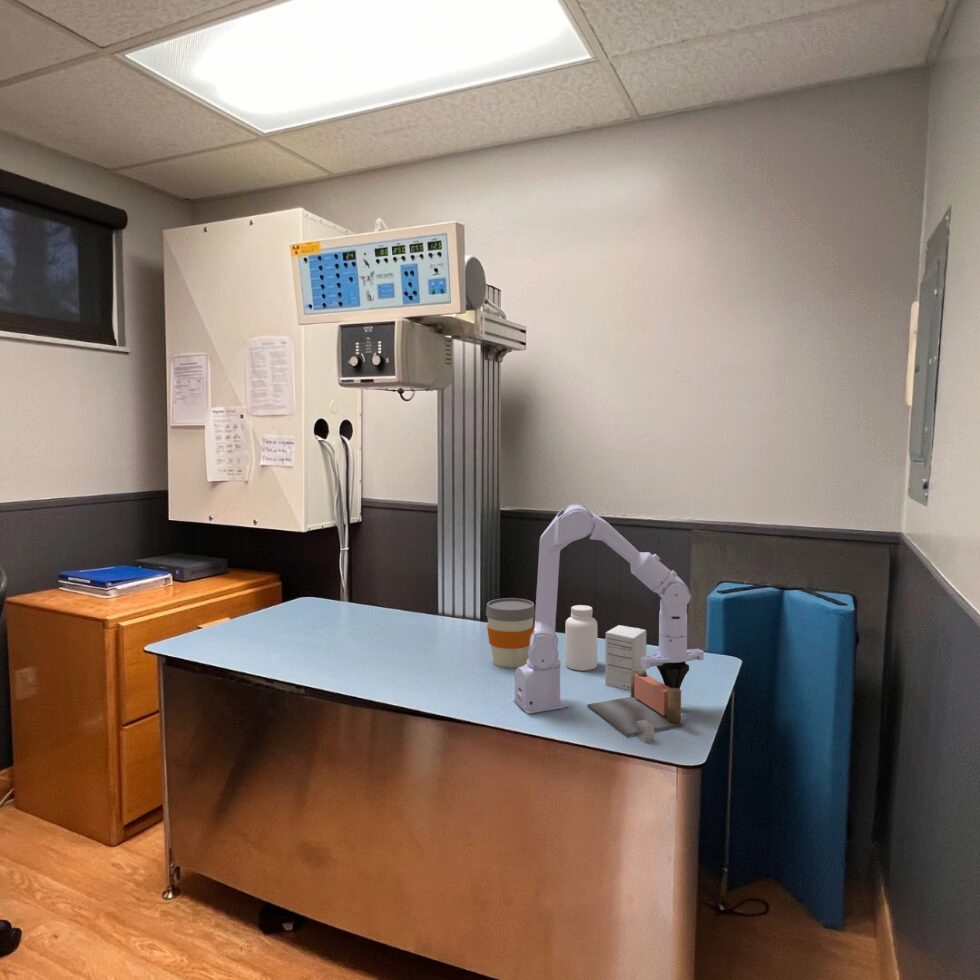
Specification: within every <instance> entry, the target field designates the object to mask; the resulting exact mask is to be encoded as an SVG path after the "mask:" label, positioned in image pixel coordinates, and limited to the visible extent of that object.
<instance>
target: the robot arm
mask: <svg viewBox="0 0 980 980" xmlns="http://www.w3.org/2000/svg"><path fill="white" fill-rule="evenodd" d="M587 536H588V537H589V540H594V541H601V542H603V543H605V544H606V546H608V547H610V548H611V549H612V550H613V551H614V552H616V553H617V554H618V555H619V556H621V557H622V558H623V559H624V560H625V561H627V562H628V563H629V564H630V573H631V574H632V575H633V576H634V577H635V578H637V579H638V580H639V581H640V582H642V584H644V585H645V586H646V587H647V588H649V590H650V591H652V592H653V593H657V595H658V596H659V598H661V599H660V604H659V612H658V613H659V615H658V617H659V618H658V651H656V652H654V653H651V654H649V655H646V656H645V657H641V666H642V667H644V668H645V669H646V670H648V669H649V670H650V669H651V668H652V667H656V668H657V670H658V671H659V673H660V676H661V678H662V681H663V684H664V685H666V686H668V687H669V688H677V689H680V690H681V687H682V686H681V685H682V683H683V681H684V678H685V677H686V675H687V673H688V672H689V671H690V665H689V664H687V663H686V662H690V661H696V660H698V661H703V660H704V658H705V655H704V653H705V652H704V650H702V649H699V648H692V649H690V648H689V649H687V648H688V646H687V645H688V613H687V612H688V604H689V602H691V597H692V595H691V594H690V589H689V587H688V586H687V585H686V583H685V582H684V581H683V579H681V578H680V576H678V575H677V572H676V571H675V570H674V569H672V570H670V569H669V568H668V567H667V566H666V565H664V564H663V563H662V562H661V561H660V560H661V558H660V557H659V555H657V553H654V554H652V553H651V552H648V551H646V552H643V551H642V552H641V551H639V550H638V549H637V548H636V547H635V546H634V545H632V544H631V543H630V542H629V541H628V540H627V539H626V538H625V537H624V536H623V535H622V534H620V532H618V530H616V528H614V527H613V526H612V525H611V524H610V523H609V522H607V520H605V519H604V518H602V517H601V516H599V514H598V515H597V514H596V513H595V512H593V511H591V513H590V510H589V509H588V507H586V506H584V505H583V504H581V503H571V504H569V505H567V506H566V507H564V508H562V509H561V510H560V511H558V512H557V514H556V516H555V517H554V519H552V520H551V522H550V524H549V525H548V526H547V528H546V529H545V530H544V531H543V533H542V534H541V535H540V537H539V538H540V539H539V545H538V547H539V549H538V564H537V565H538V566H537V580H536V582H537V583H536V594H535V595H536V597H535V616H534V631H533V633H532V634H531V637H530V647H529V651H528V657H529V658H528V659H527V664H525V665H523V666H519V667H516V669H515V670H514V671H515V672H514V698H513V702H514V703H516V705H518V706H519V707H520V708H521V709H522V710H523V711H524V712H525V713H527V714H528V715H530V714H535V713H542V712H547V711H554V710H559V709H565V708H568V706H569V705H568V703H566V702H565V701H564V700H562V699H561V660H560V659H559V650H558V646H559V638H558V636H557V634H556V620H557V619H556V618H557V605H558V591H559V590H558V587H559V575H560V574H559V573H560V572H559V571H560V557H561V551H562V550H563V549H564V548H565V547H567V546H568V545H569V544H571V543H572V542H575V541H578V540H581V539H583V538H586V537H587Z"/></svg>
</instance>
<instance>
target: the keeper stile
mask: <svg viewBox="0 0 980 980" xmlns="http://www.w3.org/2000/svg"><path fill="white" fill-rule="evenodd" d="M636 737H637V738H639V740H641V741H642V742H644V743H645V744H647V743H650V742H655V732H654V725H653V724H651V723H650V722H648V721H647V720H641V721H637V735H636Z"/></svg>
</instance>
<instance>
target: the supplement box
mask: <svg viewBox="0 0 980 980" xmlns="http://www.w3.org/2000/svg"><path fill="white" fill-rule="evenodd" d="M604 650H605V651H604V653H605V658H604V660H605V663H604V664H605V667H604V669H605V671H604V672H605V685H607V686H611V687H614V688H618V689H623V690H627V691H631V671H646V672H647V669H645V668H644V667H642V666H641V657H645V656H647V630H646V629H643V628H639V627H631V626H626V625H620V624H618V625H617V626H615V627H612V628H611V629H610V630H607V631H606V632H605V649H604Z"/></svg>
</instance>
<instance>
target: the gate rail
mask: <svg viewBox="0 0 980 980" xmlns="http://www.w3.org/2000/svg"><path fill="white" fill-rule="evenodd" d="M668 689H669V687H668V686H666V685H664V683H663V682H661V681H659V680H657V679H655V678H654V677H652V676H650V675H648V674H647V670H646V671H638V674H635V681H634V697H636V698H637V699H639V700H640V701H642V702H643V703H645V704H646V705H648V706H650V707H651V708H653V709H654V710H656V711H657V712H659V713H660V714H662V715H663V716H665V715H667V706H668Z"/></svg>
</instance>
